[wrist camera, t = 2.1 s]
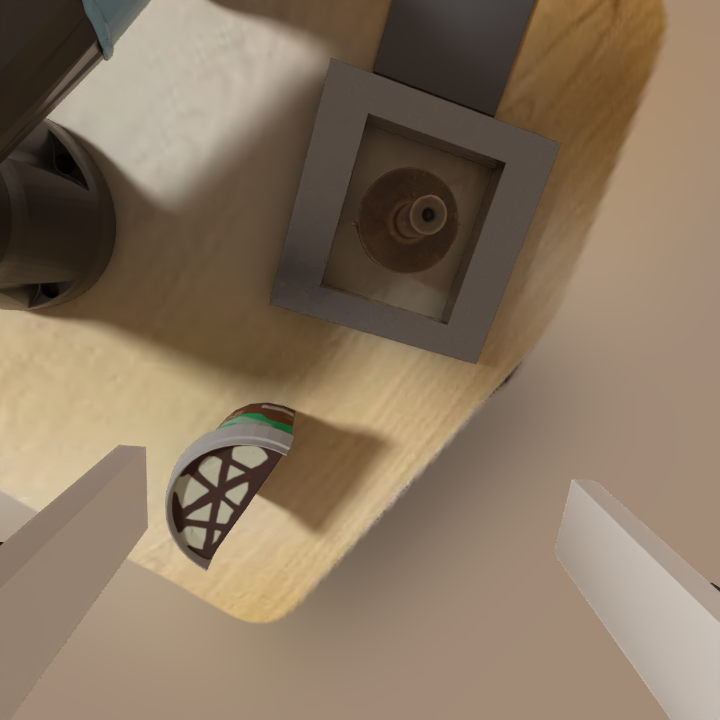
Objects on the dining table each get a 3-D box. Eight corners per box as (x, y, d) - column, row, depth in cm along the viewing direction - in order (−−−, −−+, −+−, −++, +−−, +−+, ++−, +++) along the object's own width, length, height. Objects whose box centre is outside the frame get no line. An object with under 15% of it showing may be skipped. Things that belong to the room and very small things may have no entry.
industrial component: (341, 255, 35) (342, 257, 23) (366, 166, 33) (380, 121, 22) (445, 286, 36) (495, 303, 24) (474, 202, 34) (542, 178, 23)
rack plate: (274, 300, 36) (269, 303, 33) (331, 72, 31) (331, 57, 29) (467, 357, 38) (475, 364, 35) (545, 151, 34) (561, 143, 31)
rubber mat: (373, 72, 32) (373, 70, 31) (415, -82, 29) (416, -85, 29) (493, 117, 33) (494, 115, 32) (542, -28, 30) (544, -30, 30)
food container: (245, 363, 37) (211, 403, 27) (303, 398, 38) (291, 449, 28) (178, 467, 39) (126, 538, 30) (235, 498, 40) (203, 575, 31)
